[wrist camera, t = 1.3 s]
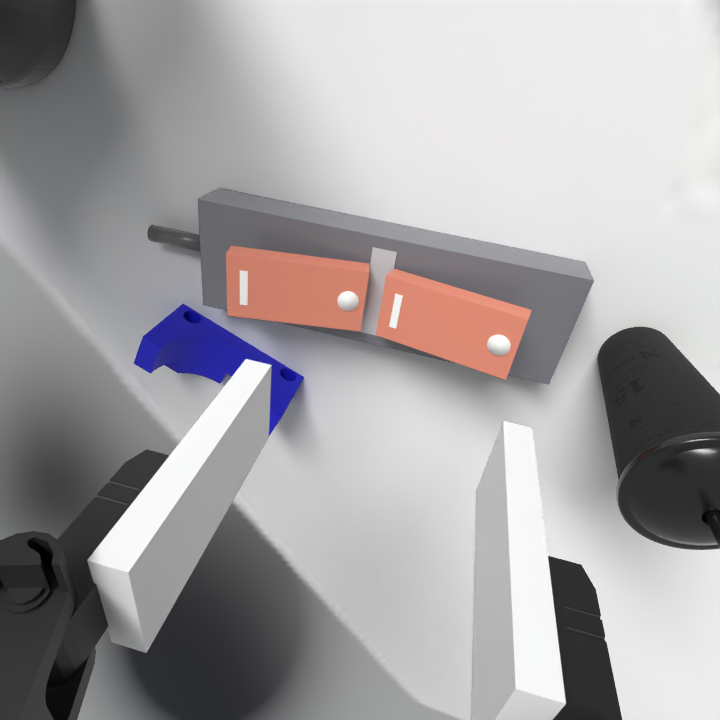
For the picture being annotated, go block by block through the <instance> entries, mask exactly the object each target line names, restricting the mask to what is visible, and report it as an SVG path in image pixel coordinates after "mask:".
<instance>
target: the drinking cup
mask: <svg viewBox="0 0 720 720" xmlns="http://www.w3.org/2000/svg"><path fill="white" fill-rule="evenodd" d="M598 366H599V371H600V377H601V383H602V388H603V394H604V400H605V405H606V411H607V417H608V422H609V428H610V434H611V439H612V445H613V451H614V456H615V462H616V468H617V473H618V479H619V481H618V484H617V490H616V497H617V503H618V507H619V510H620V512H621V514H622V516H623V518H624V519H625V521H626V522H627V523H628V524H629V525H630V526H631V527H632V528H633V529H634V530H635V531H637V532H638V533H639V534H641V535H642V536H644V537H646V538H648V539H650V540H652V541H654V542H657V543H660V544H663V545H666V546H670V547H675V548H681V549H691V550H711V549H720V394H719V393H718V392H717V391H716V390H715V389H714V388H713V387H712V386H711V385H710V383H709V382H708V381H707V380H706V379H705V378H704V377H703V376H702V375H701V374H700V373H699V371H698V370H697V369H696V368H695V367H694V366H693V365H692V364H691V363H690V362H689V361H688V360H687V358H686V357H685V356H684V355H683V354H682V353H681V352H680V351H679V350H678V349H677V348H676V347H675V345H674V344H673V343H672V342H671V341H670V340H669V339H668V338H667V337H666V336H665V335H664V334H663V333H661V332H659V331H657V330H655V329H652V328H647V327H633V328H628V329H625V330H622V331H619V332H617V333H616V334H614V335H612V336H611V337H610V338H609V339H607V340H606V342H605V343H604V344H603V345H602V347H601V349H600V351H599V354H598Z"/></svg>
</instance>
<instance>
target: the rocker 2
mask: <svg viewBox="0 0 720 720" xmlns="http://www.w3.org/2000/svg"><path fill="white" fill-rule="evenodd" d="M531 311H532V310H530V309H526V308H523V307H520V306H517V305H513V304H510V303H507V302H503V301H500V300H497V299H493V298H490V297H487V296H483V295H480V294H477V293H473V292H470V291H467V290H464V289H460V288H457V287H454V286H450V285H447V284H444V283H440V282H437V281H434V280H430V279H427V278H424V277H420V276H417V275H414V274H411V273H407V272H404V271H401V270H397V269H393V270H392V271H390V272H389V273H388V274H387V275H386V278H385V284H384V290H383V295H382V301H381V307H380V313H379V318H378V324H377V330H376V335H377V336H380V337H383V338H386V339H389V340H392V341H395V342H398V343H400V344H403V345H406V346H409V347H412V348H415V349H418V350H421V351H423V352H426V353H429V354H432V355H435V356H438V357H441V358H444V359H447V360H449V361H452V362H455V363H458V364H461V365H464V366H467V367H470V368H472V369H475V370H478V371H481V372H484V373H487V374H490V375H493V376H496V377H498V378H501V379H504V380H506V378H507V376H508V373H509V370H510V368H511V365H512V362H513V360H514V357H515V354H516V351H517V349H518V346H519V343H520V341H521V338H522V335H523V333H524V330H525V327H526V324H527V322H528V319H529V316H530V313H531Z"/></svg>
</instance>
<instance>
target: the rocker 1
mask: <svg viewBox="0 0 720 720" xmlns="http://www.w3.org/2000/svg"><path fill="white" fill-rule="evenodd" d="M226 275H227V316H234V317H243V318H251V319H259V320H268V321H276V322H285V323H293V324H301V325H310V326H318V327H326V328H335V329H343V330H352V331H360V330H361V324H362V317H363V311H364V304H365V298H366V291H367V285H368V278H369V263H362V262H354V261H347V260H339V259H331V258H323V257H315V256H308V255H300V254H292V253H284V252H277V251H269V250H261V249H253V248H245V247H238V246H231V247H230V248H229V250H228V251H227V253H226Z"/></svg>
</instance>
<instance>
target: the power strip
mask: <svg viewBox="0 0 720 720" xmlns="http://www.w3.org/2000/svg"><path fill="white" fill-rule="evenodd" d="M198 211H199V231H200V235H198V234H193V233H189V232H184V231H179V230H174V229H170V228H165V227H160V226H156V225H151V226H150V227H149V229H148V238H149V240H150V241H154V242H159V243H163V244H168V245H172V246H177V247H182V248H186V249H191V250H195V251H200V252H201V269H202V288H203V305H206V306H210V307H215V308H219V309H223V310H227V275H226V253H227V251H228V250H229V248H230V247H231V246H238V247H245V248H253V249H261V250H269V251H277V252H284V253H292V254H300V255H308V256H315V257H323V258H331V259H339V260H347V261H354V262H362V263H369V278H368V285H367V291H366V298H365V304H364V311H363V317H362V324H361V330H360V331H352V330H343V329H335V328H326V327H318V326H310V325H301V324H293V323H285V322H280V323H284V324H288V325H293V326H297V327H301V328H306V329H310V330H314V331H319V332H323V333H327V334H332V335H336V336H340V337H345V338H349V339H353V340H358V341H362V342H366V343H371V344H375V345H379V346H384V347H388V348H392V349H397V350H401V351H405V352H410V353H414V354H418V355H423V356H427V357H431V358H436V359H440V360H444V361H449V360H447V359H444V358H441V357H438V356H435V355H432V354H429V353H426V352H423V351H421V350H418V349H415V348H412V347H409V346H406V345H403V344H400V343H398V342H395V341H392V340H389V339H386V338H383V337H380V336H377V335H376V330H377V324H378V318H379V313H380V307H381V301H382V295H383V290H384V284H385V278H386V275H387V274H388V273H389V272H390V271H392V270H393V269H397V270H401V271H404V272H407V273H411V274H414V275H417V276H420V277H424V278H427V279H430V280H434V281H437V282H440V283H444V284H447V285H450V286H454V287H457V288H460V289H464V290H467V291H470V292H473V293H477V294H480V295H483V296H487V297H490V298H493V299H497V300H500V301H503V302H507V303H510V304H513V305H517V306H520V307H523V308H526V309H530V310H532V311H531V313H530V316H529V319H528V322H527V324H526V327H525V330H524V333H523V335H522V338H521V341H520V343H519V346H518V349H517V351H516V354H515V357H514V360H513V362H512V365H511V368H510V370H509V373H508V375H509V376H514V377H518V378H522V379H527V380H531V381H535V382H540V383H544V384H548V385H549V383H550V380H551V378H552V376H553V374H554V371H555V369H556V367H557V364H558V362H559V360H560V357H561V355H562V353H563V351H564V348H565V346H566V344H567V341H568V339H569V337H570V334H571V332H572V330H573V327H574V325H575V323H576V321H577V318H578V316H579V314H580V311H581V309H582V307H583V304H584V302H585V300H586V298H587V295H588V293H589V291H590V288H591V286H592V284H593V281H594V280H593V277H592V275H591V273H590V271H589V269H588V267H587V265H586V263H585V262H583V261H578V260H573V259H568V258H563V257H558V256H553V255H548V254H543V253H538V252H533V251H528V250H523V249H518V248H513V247H508V246H504V245H499V244H494V243H489V242H484V241H479V240H474V239H469V238H464V237H459V236H454V235H449V234H444V233H439V232H434V231H429V230H424V229H419V228H414V227H409V226H404V225H399V224H394V223H390V222H385V221H380V220H375V219H370V218H365V217H360V216H355V215H350V214H345V213H340V212H335V211H330V210H325V209H320V208H315V207H310V206H305V205H300V204H295V203H290V202H285V201H281V200H276V199H271V198H266V197H261V196H256V195H251V194H246V193H241V192H236V191H231V190H226V189H221V188H219V189H217V190H215V191H213V192H211V193H209V194H207V195H205V196H203V197H201V198H199V199H198ZM275 322H276V321H275ZM449 362H452V361H449ZM453 363H455V362H453ZM457 364H458V363H457Z"/></svg>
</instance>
